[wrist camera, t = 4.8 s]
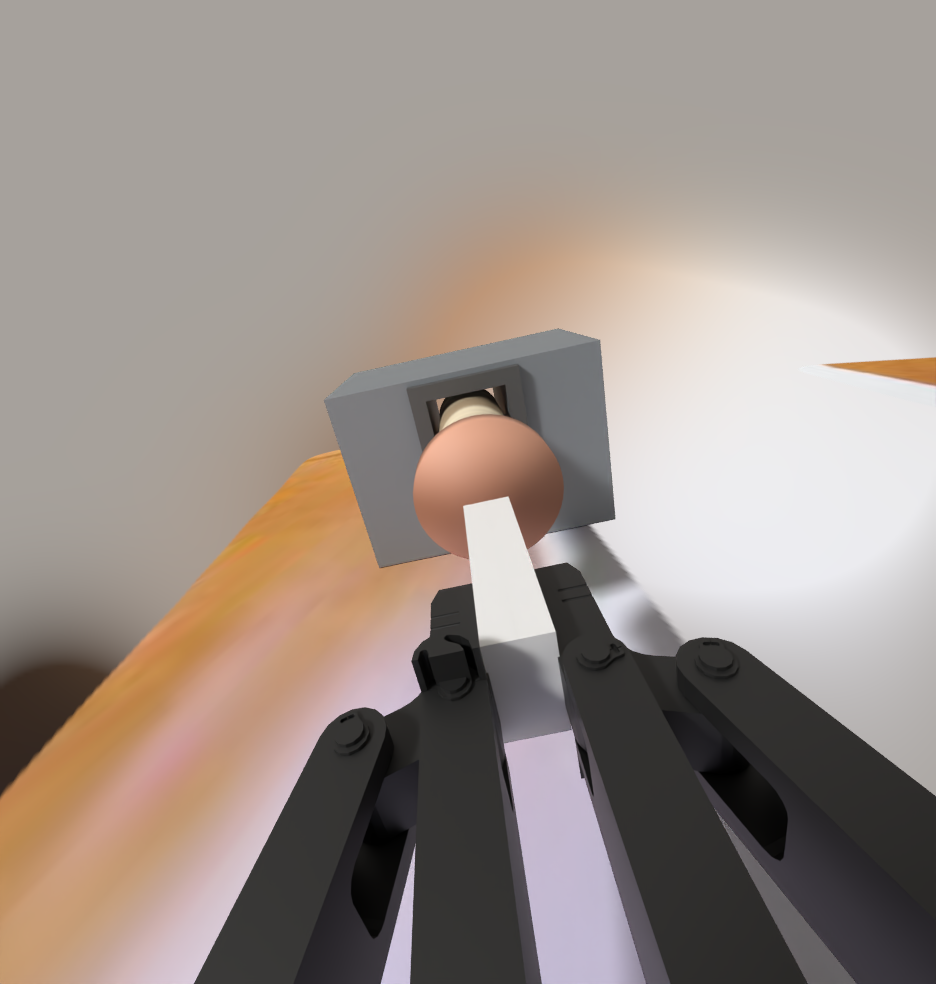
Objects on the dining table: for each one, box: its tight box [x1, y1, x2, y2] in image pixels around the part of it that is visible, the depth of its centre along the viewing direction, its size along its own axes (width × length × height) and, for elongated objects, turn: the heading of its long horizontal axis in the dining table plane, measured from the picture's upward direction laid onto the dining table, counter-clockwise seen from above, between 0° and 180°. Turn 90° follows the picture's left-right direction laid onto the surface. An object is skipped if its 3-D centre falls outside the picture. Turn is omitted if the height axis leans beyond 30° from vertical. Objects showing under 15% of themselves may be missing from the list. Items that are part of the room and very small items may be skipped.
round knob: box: [413, 389, 564, 559], centre depth 24 cm, size 13×6×6 cm, turn 3°
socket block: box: [324, 329, 615, 568], centre depth 33 cm, size 11×16×12 cm, turn 93°
